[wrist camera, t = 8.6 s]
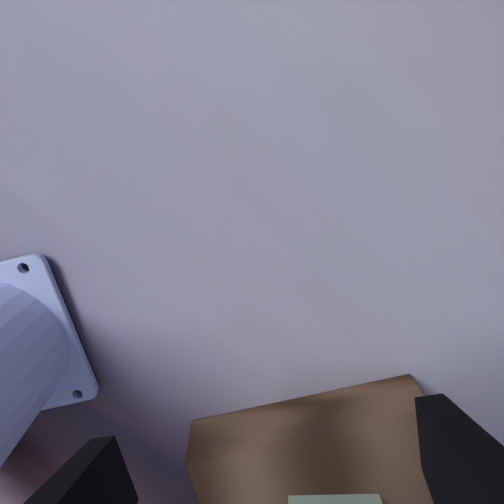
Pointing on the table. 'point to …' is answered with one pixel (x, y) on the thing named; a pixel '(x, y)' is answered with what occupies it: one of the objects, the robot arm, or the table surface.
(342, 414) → the brown flat block
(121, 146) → the table surface
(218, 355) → the table surface
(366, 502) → the sage block
